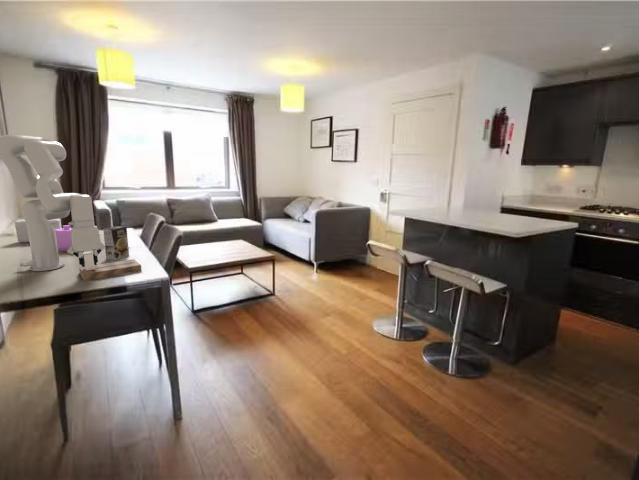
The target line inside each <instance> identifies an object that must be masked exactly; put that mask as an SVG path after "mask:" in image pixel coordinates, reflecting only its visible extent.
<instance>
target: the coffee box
mask: <svg viewBox="0 0 639 480" xmlns="http://www.w3.org/2000/svg"><path fill="white" fill-rule="evenodd" d="M102 232H103V241H104V246H105V247H106V248H105V249H104V250H105V259H106V260H111V261H112V260H113V261H118V260H121V259H123V258H127V257H130V250H129V249H130V248H128V247H129V240H128V227H127V226H118V225H117V226H111V227H106V228H103V231H102Z"/></svg>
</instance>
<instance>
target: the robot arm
mask: <svg viewBox="0 0 639 480" xmlns="http://www.w3.org/2000/svg"><path fill="white" fill-rule="evenodd" d="M23 156H27V158H28V160H29V161H30V162H29V161H28V160H27V159H25V158H24V157H23ZM66 158H67V151H66V149H65V147H64V146H63V145H62V144H61V143H60V142H58V141H55V140H52V139H50V138H46V137H42V136H37V135H36V136H34V135H23V134H22V135H21V134H3V135H0V160H1V161H2V162H3V164H4V165H5V166H6V168H7V169H8V171H9V173H10V176H11V177H10V178H11V179H12V181H13V184H14V186H15V188H16V191H17V192H18V194H19V195H20V197H22V198H26V199H31V200H27V201H25V202H24V203H22V205H21V207H20V211H21V212H20V213H21V214H22V217H23V220H25V222H26V225H27V230H28V235H29V241H30V242H29V245H30V253H31V259H30V260H28V261H20V262H19V266H20V268H21V267H26V268H27V267H29V270H30V271H31V272H45V271H46V272H47V271H53V270H58V269H60V268H63V267H64V266H65V263H64V262H63V261H61V260H60V255H59V254H60V253H59V251H58V247H57V240H56V234H55V229H54V227H53V226H52V225H51V224H50V223H49V222H48V221H47V220H52V219H64V218H66V217H68V216H69V215H70V214H71V221H69V222H68V224H67V225H69V226H70V228H71V246H70V247H69V249H68V250H67V251H66V252H67V253H68V254H71V255H73V256H74V257H77V258H78V262H79V263H78V264H79V266H80V267H84V259H83V255H82V253H83V252H90V251H92V253H93V259H94V265H98V264H97V263H99V261H98V256H99V254H101V252H102V251H104V250H105V248H106V247H105V244H104V243H102V242H101V235H100V232H99V228H98V226H97V225H95V218H94V217H95V216H94V209H93V202H92V201H93V200H92V197H91V195H89V194H82V193H77V192H64V190H63V188H62V185H61V184H60V182H59V180H58V178H60V177H62V175H63V173H64V171H63V168H62V167H61V165H60V163H59V162H61V161H64V160H66ZM35 198H37V199H35ZM32 199H33V200H32ZM70 212H71V213H70ZM72 250H74V251H72Z"/></svg>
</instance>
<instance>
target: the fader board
mask: <svg viewBox="0 0 639 480" xmlns="http://www.w3.org/2000/svg"><path fill="white" fill-rule="evenodd" d="M94 267H95V269H93V270H87V271H86V270H85V269H84V267H82V266H79V267H78V268H79V275H80V276H81V277H82V279H83V281H84V282H86V281H92V280H99V279H104V278H110V277H116V276H120V275H127V274H128V275H129V274H132V273H138V272H142V265H141V263H139V262H138V261H137V260H136V259H133V258H132V259H127V260H120V261H118V260H117V261H112V262H105V263H100V264H97V265H94Z"/></svg>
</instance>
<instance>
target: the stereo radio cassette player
mask: <svg viewBox="0 0 639 480" xmlns="http://www.w3.org/2000/svg"><path fill="white" fill-rule="evenodd" d="M47 221H48V222H49V223H50V224H51V225H52V226H53V227H54V229H61V228H63V226H62V222H61V221H62V218H60V219H52V220H47ZM14 227H15V233H16V237H17V241H18V242H19V243H21V242H23V243H30V241H29V235H28V230H27V225H26V222H25V219H19V220H17V221H15V222H14Z"/></svg>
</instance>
